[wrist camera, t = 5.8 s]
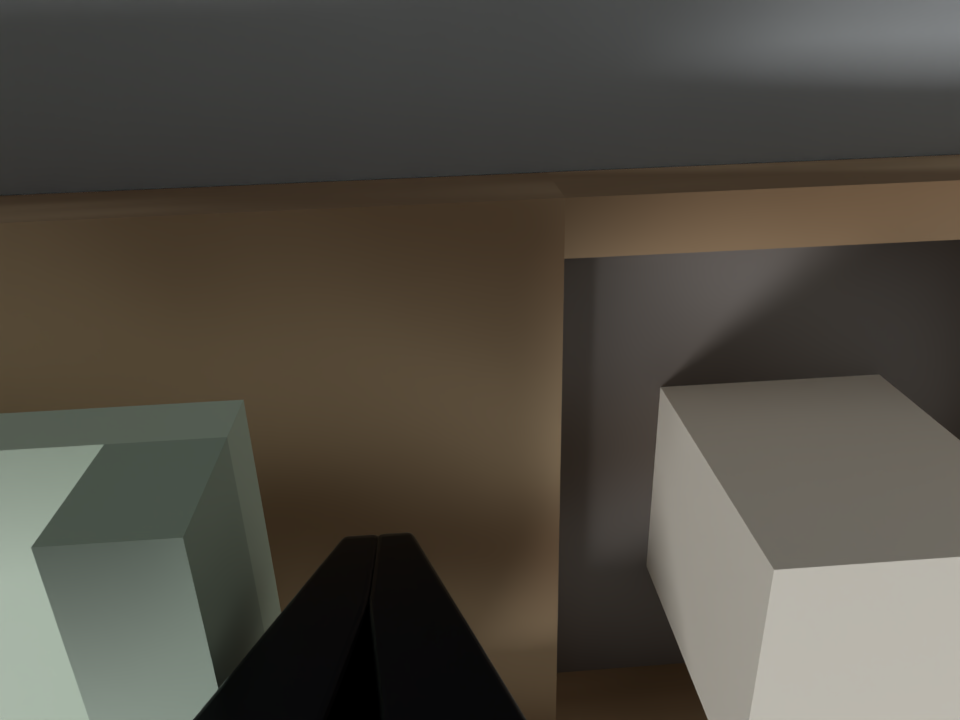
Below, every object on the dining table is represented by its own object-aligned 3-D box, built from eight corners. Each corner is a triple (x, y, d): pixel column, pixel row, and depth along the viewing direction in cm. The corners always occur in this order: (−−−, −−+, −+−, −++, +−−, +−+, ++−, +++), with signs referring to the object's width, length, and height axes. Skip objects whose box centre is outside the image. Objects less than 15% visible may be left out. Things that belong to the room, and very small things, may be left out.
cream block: (841, 552, 18) (1007, 769, 13) (646, 565, 17) (737, 792, 12) (879, 374, 16) (1090, 547, 11) (660, 387, 16) (773, 569, 11)
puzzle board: (1273, 636, 21) (1654, 919, 14) (-53, 739, 19) (-294, 1115, 12) (1544, 129, 15) (2358, 223, 9) (-294, 208, 13) (-940, 397, 7)
